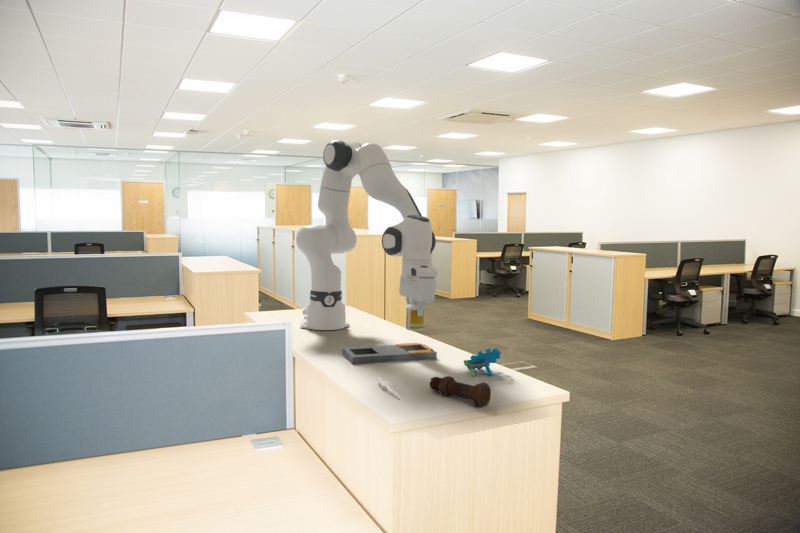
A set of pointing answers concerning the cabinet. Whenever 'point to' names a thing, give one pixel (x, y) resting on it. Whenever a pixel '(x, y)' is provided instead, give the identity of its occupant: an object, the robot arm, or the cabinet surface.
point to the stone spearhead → (389, 388)
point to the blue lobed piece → (482, 360)
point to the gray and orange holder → (388, 353)
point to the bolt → (462, 390)
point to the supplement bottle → (413, 317)
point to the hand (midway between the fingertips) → (415, 314)
